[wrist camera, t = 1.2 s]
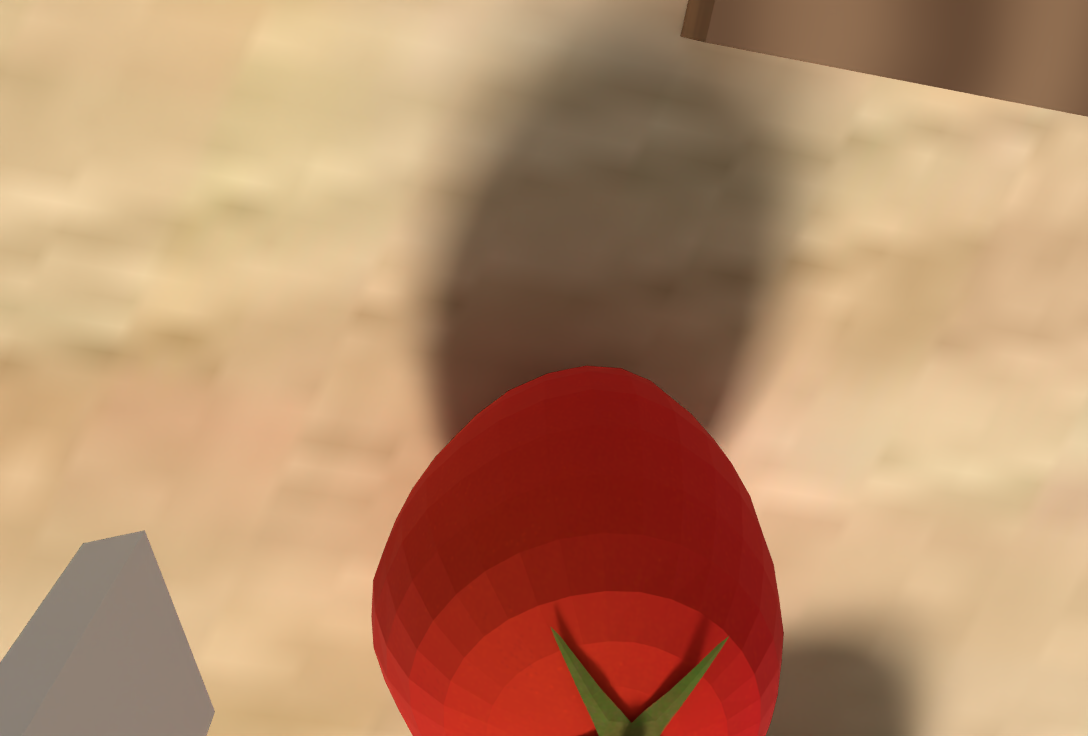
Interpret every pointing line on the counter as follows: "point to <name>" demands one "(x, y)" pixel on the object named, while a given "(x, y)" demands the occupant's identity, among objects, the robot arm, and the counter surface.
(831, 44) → the walnut block
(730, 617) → the tomato
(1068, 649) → the counter surface
